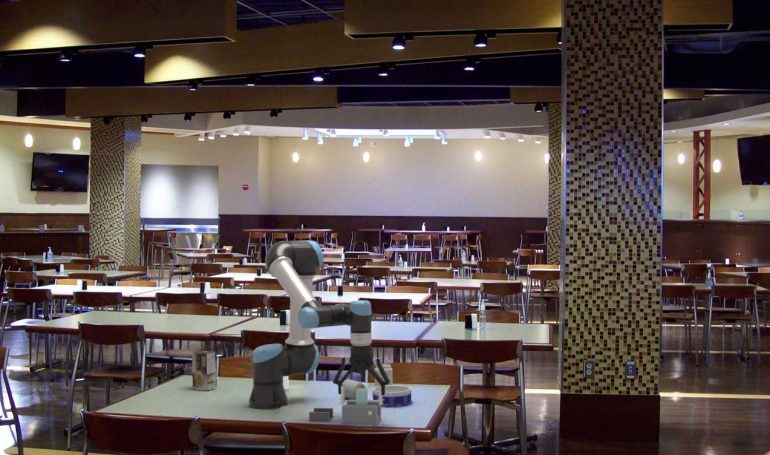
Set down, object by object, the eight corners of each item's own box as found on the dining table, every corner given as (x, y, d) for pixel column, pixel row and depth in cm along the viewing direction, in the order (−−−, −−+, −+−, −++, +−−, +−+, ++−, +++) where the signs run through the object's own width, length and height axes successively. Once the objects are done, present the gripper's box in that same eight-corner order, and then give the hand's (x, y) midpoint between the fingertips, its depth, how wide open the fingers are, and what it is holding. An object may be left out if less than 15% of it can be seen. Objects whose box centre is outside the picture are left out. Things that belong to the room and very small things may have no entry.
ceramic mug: (355, 401, 337) (355, 382, 337) (339, 399, 342) (339, 380, 342) (372, 397, 345) (372, 379, 345) (356, 395, 350) (356, 376, 350)
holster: (307, 424, 300) (307, 412, 300) (313, 418, 309) (313, 407, 309) (329, 424, 299) (329, 413, 299) (334, 418, 308) (334, 407, 308)
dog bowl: (366, 406, 329) (366, 390, 329) (381, 398, 343) (380, 383, 343) (403, 408, 324) (403, 393, 324) (416, 400, 338) (416, 385, 338)
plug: (356, 424, 299) (355, 390, 299) (357, 421, 303) (357, 388, 303) (366, 424, 299) (365, 390, 299) (367, 422, 302) (367, 388, 302)
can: (372, 394, 350) (371, 365, 350) (378, 391, 357) (378, 363, 357) (388, 396, 347) (388, 366, 347) (395, 392, 354) (395, 364, 354)
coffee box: (217, 388, 367) (217, 351, 367) (207, 391, 362) (206, 353, 362) (202, 387, 372) (202, 350, 372) (191, 389, 366) (191, 352, 366)
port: (341, 426, 295) (341, 406, 295) (348, 418, 308) (348, 399, 307) (375, 427, 293) (375, 407, 293) (381, 419, 306) (381, 400, 306)
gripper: (324, 345, 299) (325, 405, 299) (394, 346, 295) (395, 406, 295) (328, 342, 306) (329, 401, 306) (397, 343, 302) (397, 402, 303)
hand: (361, 404), depth 301 cm, fingers open, 13 cm apart
